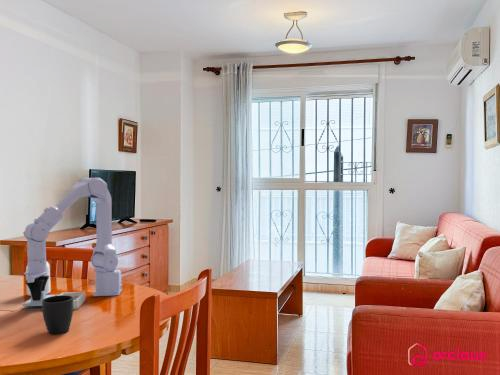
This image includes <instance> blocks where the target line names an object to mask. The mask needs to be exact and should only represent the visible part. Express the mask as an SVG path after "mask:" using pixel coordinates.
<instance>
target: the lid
mask: <svg viewBox="0 0 500 375" xmlns="http://www.w3.org/2000/svg"><path fill="white" fill-rule="evenodd" d="M55 295H56V294H47V295H45V291H41V298H40V300H38V301H33V299H32V295H31V296H30V299H28V300H26V301H25V302H23V303H22V307H28V306H42V301H43V299H45V298H48V297H52V296H55ZM57 295H58V296H59V295H60V294H57Z"/></svg>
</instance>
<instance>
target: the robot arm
mask: <svg viewBox="0 0 500 375" xmlns="http://www.w3.org/2000/svg"><path fill="white" fill-rule="evenodd" d="M84 197H89V198H90V199H91V200H93V202H95V203H96V207H95V208H96V209H95V210H96V211H95V212H96V215H95V216H96V217H95V219H96V244H95V246H94V248H93V252H92V256H91V257H90V262H91V265H92V267H94V284H95V286H94V290H95V292H94V293H92V297H104V296H105V297H107V296H119V295H120V294H121V293H122V291H123V288H122V287H123V286H122V270H120V269H116V268H117V266H118V265H119V257H118V255H117V250H116V248H115V246H114V245H113V240H112V239H113V237H112V236H113V235H112V234H113V232H112V231H113V230H112V228H113V225H112V221H113V220H112V217H113V216H112V215H113V214H112V204H113V203H112V195H111V193H110V191H109V189H108V184H107V182H106V181H104V180H103V179H102V178H101V177H83V178H80V179H78V181H77V182H75V183H74V184H73V186H72V187H71V189H70V190H69V191H68V192H67V193H66V194H65V195H64V196H63V198H61V200H60V201H59V202H58V203H57V204H56V205H55V206H49V207H45V208H44V209H43V211H44V212H42V214H41V215H40V216H38V217H37V218H35V219H34V220H33V222H32V223H29V224H28V225H26V226H25V230H24V231H23V236H24V238H25V239H26V251H27V255H26V256H27V264H28V272H26V271H25V272H24V275H25V276H26V275H27V280H26V279H25V285H26V286H27V285H28V287H29V289H30V292H31V295H32V299H33V301H38V300H40V298H41V291H44V290H45V286H46V283H47V280H48V278H49V276H44V275H46V274H47V268H46V261H47V246H46V244H47V243H46V242H47V241H46V239H48V237H49V235H50V231H51V230H52V229H53V228H54V227H55V226H56V225H57V224H58V223H59V222H60V221H62V219H63V217H64V213H65V212H66V211H67V210H68V209H69V208H70V207H71V206H72V205H73V204H75V202H77V201H78V200H79V199H80V198H84Z"/></svg>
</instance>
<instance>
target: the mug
mask: <svg viewBox="0 0 500 375" xmlns="http://www.w3.org/2000/svg"><path fill="white" fill-rule="evenodd" d="M54 295H55V296H52V297H48V298H45V299H43V301H42V310H41V311H42V316H43V321H44V324H45V328H46V330H47V333H48V334H49V335H53V336H56V335H57V336H58V335H64V334H66V333H68V332H69V331H70V327H71V324H72V319H73V314H74V310H73V297H72V296H67V295H60V294H54ZM58 295H59V296H58Z"/></svg>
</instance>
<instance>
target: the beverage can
mask: <svg viewBox="0 0 500 375" xmlns="http://www.w3.org/2000/svg"><path fill="white" fill-rule="evenodd" d="M26 264H27V265H26V267H25V272H28V263H26ZM46 268H47V274H46V275H44V276H49V278H48V280H47V283H46V286H45V290H44V291H45V295H49V294H50V293H51V270H50V269H51V267H50V263H49V261H47V260H46ZM25 277H26V279H25V281H26V280H27V275H25ZM26 295H27V296H29V297H31V292H30V289H29V287H28V285H27V284H26Z"/></svg>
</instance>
